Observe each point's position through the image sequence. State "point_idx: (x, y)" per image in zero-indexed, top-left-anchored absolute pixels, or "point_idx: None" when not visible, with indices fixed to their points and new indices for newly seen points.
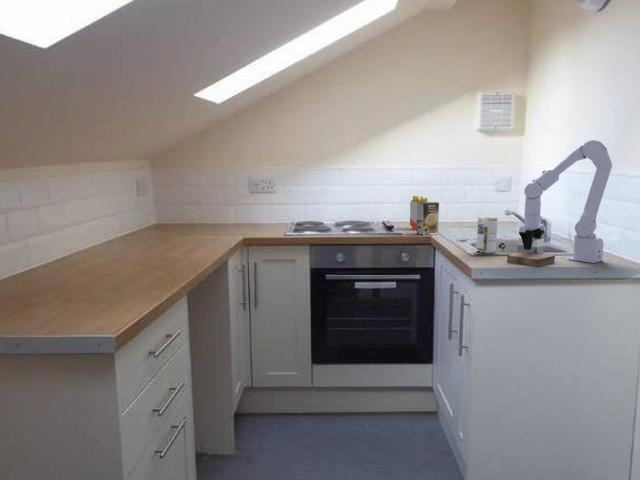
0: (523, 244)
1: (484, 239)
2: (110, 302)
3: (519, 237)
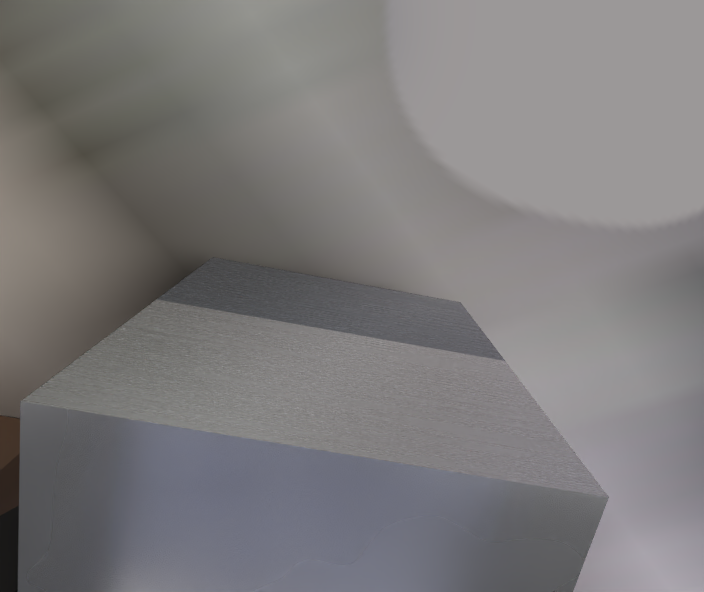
0: None
1: None
2: None
3: (58, 437)
